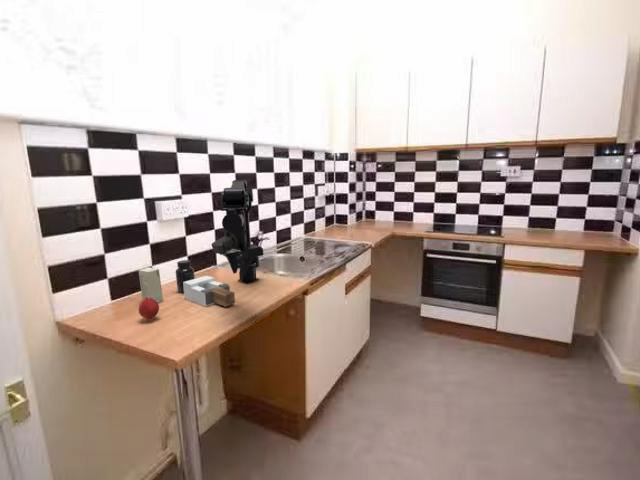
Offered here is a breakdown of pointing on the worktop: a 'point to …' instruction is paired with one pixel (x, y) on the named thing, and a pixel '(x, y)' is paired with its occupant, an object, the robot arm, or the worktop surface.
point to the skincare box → (151, 284)
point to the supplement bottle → (183, 274)
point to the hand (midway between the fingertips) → (239, 274)
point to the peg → (223, 296)
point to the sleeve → (202, 290)
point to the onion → (148, 308)
